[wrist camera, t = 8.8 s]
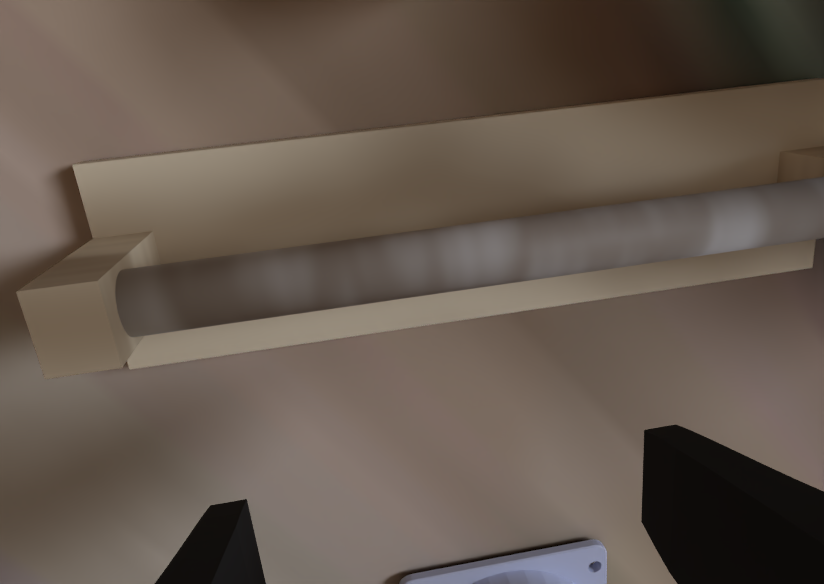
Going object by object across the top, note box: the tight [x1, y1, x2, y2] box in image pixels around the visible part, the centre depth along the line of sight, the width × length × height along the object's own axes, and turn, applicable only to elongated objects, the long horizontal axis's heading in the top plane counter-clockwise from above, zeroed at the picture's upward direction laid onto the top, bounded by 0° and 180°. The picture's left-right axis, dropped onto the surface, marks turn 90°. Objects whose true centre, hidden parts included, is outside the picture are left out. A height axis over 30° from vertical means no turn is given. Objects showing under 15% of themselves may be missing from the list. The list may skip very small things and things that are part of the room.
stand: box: [16, 78, 824, 379], centre depth 17 cm, size 6×22×5 cm, turn 96°
